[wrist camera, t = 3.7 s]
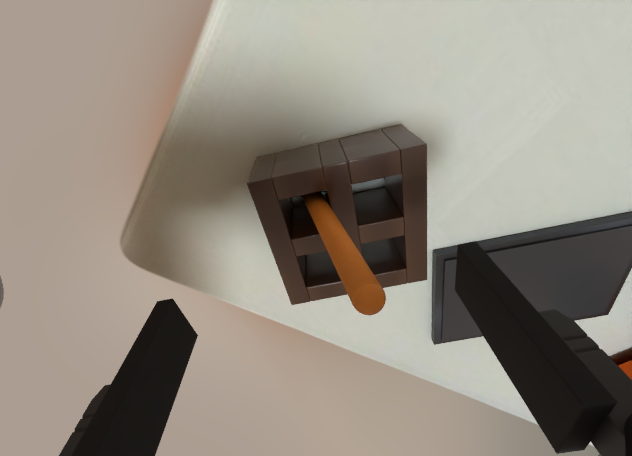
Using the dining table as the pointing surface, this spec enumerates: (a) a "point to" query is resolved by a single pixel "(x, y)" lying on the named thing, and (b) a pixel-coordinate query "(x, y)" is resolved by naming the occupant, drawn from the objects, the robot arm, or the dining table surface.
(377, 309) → the stylus
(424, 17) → the dining table surface
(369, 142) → the pen stand
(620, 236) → the tablet
